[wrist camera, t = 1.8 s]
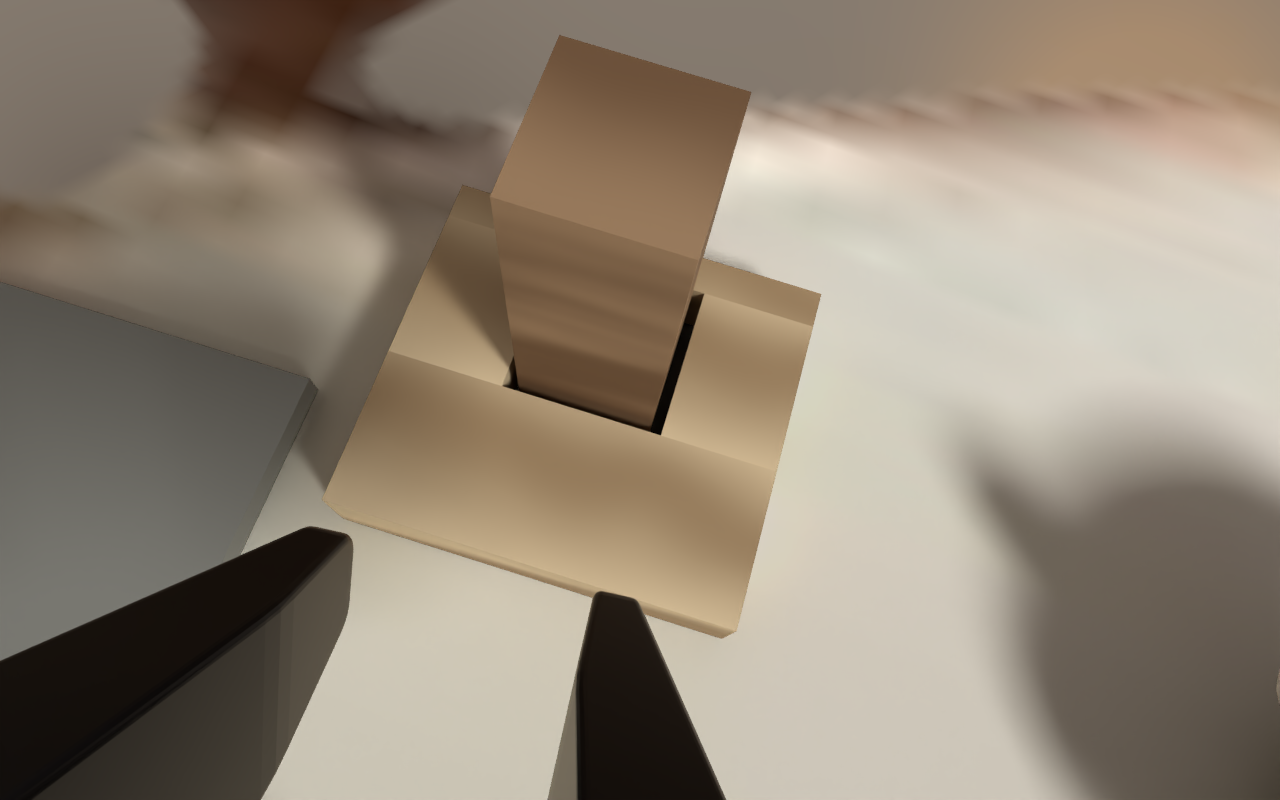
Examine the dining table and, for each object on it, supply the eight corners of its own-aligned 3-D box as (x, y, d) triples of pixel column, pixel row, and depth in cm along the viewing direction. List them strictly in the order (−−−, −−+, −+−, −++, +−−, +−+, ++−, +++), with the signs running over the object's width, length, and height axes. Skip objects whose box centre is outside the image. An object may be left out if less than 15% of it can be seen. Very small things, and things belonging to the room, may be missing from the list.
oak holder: (721, 638, 21) (736, 631, 20) (342, 518, 22) (322, 499, 20) (802, 326, 25) (821, 294, 23) (470, 225, 25) (462, 185, 23)
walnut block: (645, 445, 23) (698, 260, 14) (521, 406, 23) (489, 197, 14) (681, 332, 24) (751, 92, 15) (563, 295, 24) (559, 35, 15)
